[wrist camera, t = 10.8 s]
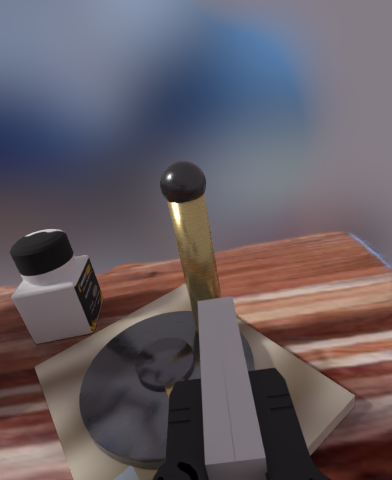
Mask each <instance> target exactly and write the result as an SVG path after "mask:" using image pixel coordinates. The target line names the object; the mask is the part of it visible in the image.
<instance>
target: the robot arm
mask: <svg viewBox="0 0 392 480" xmlns="http://www.w3.org/2000/svg"><path fill="white" fill-rule="evenodd" d="M198 321H199V343H200V365H201V378H200V379H192V380H185V381H177V382H175V384H174V387H173V389H172V391H171V393H170V395H169V413H168V428H167V445H166V462H165V463H164V464H163V465H161V466H160V467H159V469H158V470H157V472H156V474H155V475H154V477H153V480H331V479H329V478H328V477H326V476H325V475H324V474H323V473H322V472H321V471H320V470H319V469H318V468H317V467H316V465H315V464H314V463H313V461H312V459H311V456H310V454H309V451H308V448H307V445H306V442H305V439H304V436H303V433H302V430H301V427H300V423H299V420H298V417H297V414H296V411H295V409H294V405H293V402H292V399H291V396H290V393H289V390H288V387H287V384H286V381H285V379H284V377H283V376H282V375H281V374H280V373H279V372H278V370H277V369H276V368H268V369H260V370H253V371H248V370H247V365H246V360H245V356H244V351H243V346H242V341H241V336H240V331H239V327H238V322H237V317H236V312H235V307H234V303H233V298H232V296H230V297H223V298H217V299H210V300H203V301H198Z"/></svg>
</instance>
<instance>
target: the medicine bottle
mask: <svg viewBox="0 0 392 480" xmlns="http://www.w3.org/2000/svg"><path fill="white" fill-rule="evenodd" d="M10 254H11V256H12V258H13V260H14V262H15V264H16V266H17V268H18V270H19V272H20V274H21V277H22V278H23V281H22V283H21V284H20V285H19V287H18V288H17V290H16V291H15V292H14V294H13V295H12V300H13V302H14V304H15V306H16V308H17V310H18V311H19V313H20V315H21V317H22V319H23V321H24V323H25V325H26V327H27V329H28V331H29V333H30V335H31V337H32V339H33V340H34V342H35V343H36V344H41V343H46V342H51V341H56V340H61V339H66V338H71V337H76V336H81V335H86V334H91V333H93V332H94V330H95V327H96V323H97V320H98V316H99V313H100V310H101V306H102V303H103V295H102V292H101V290H100V287H99V284H98V281H97V279H96V276H95V273H94V270H93V268H92V265H91V262H90V259H89V257H88V256H87V255H84V256H79V257H75V256H74V253H73V250H72V248H71V245H70V243H69V240H68V238H67V235H66V233H65V232H63V231H62V230H57V229H46V230H41V231H37V232H34V233H31V234H29V235H27V236H25V237H23V238H22V239H20V240H19V241H17V242H16V243H15V244H14V245H13V246H12V248H11V250H10Z"/></svg>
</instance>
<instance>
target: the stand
mask: <svg viewBox="0 0 392 480" xmlns="http://www.w3.org/2000/svg"><path fill="white" fill-rule="evenodd" d="M175 311H192V309H191V305H190V300H189V296H188V291H187V287H186V284H183V285H182V286H180V287H178V288H176V289H174V290H173V291H171V292H169V293H167V294H165V295H164V296H162V297H160V298H158V299H156V300H154V301H153V302H151V303H149V304H147V305H145V306H144V307H142V308H140V309H138V310H136V311H135V312H133V313H131V314H129V315H127V316H125V317H124V318H122V319H120V320H118V321H116V322H115V323H113V324H111V325H109V326H107V327H106V328H104V329H102V330H100V331H98V332H96V333H95V334H93V335H91V336H89V337H87V338H86V339H84V340H82V341H80V342H78V343H77V344H75V345H73V346H71V347H69V348H67V349H66V350H64V351H62V352H60V353H58V354H57V355H55V356H53V357H51V358H49V359H48V360H46V361H44V362H42V363H40V364H38V365H37V366H35V370H36V373H37V376H38V379H39V382H40V385H41V388H42V390H43V393H44V396H45V399H46V402H47V405H48V408H49V410H50V413H51V416H52V419H53V422H54V425H55V428H56V431H57V433H58V436H59V439H60V442H61V445H62V448H63V451H64V453H65V456H66V459H67V462H68V465H69V468H70V471H71V473H72V476H73V479H74V480H153V477H154V475H155V474H156V472H157V470H158V469H159V468H140V467H133V466H132V465H131V466H129V465H126V464H123V463H120V462H118V461H116V460H114V459H112V458H110V457H109V456H108V455H106V454H105V453H104V452H102V451H101V450H100V449H99V448H98V446H97V445H96V444H95V443H94V441H93V440H92V438H91V436H90V435H89V433H88V431H87V429H86V427H85V425H84V422H83V420H82V417H81V413H80V407H79V395H80V389H81V385H82V381H83V378H84V376H85V374H86V371H87V369H88V367H89V366H90V364H91V362H92V361H93V359H94V358H95V357H96V355H97V354H98V353H99V351H100V350H101V349H102V348H103V347H104V346H105V345H106V344H107V343H108V342H109V341H110V340H112V339H113V338H114V337H115V336H116V335H118V334H119V333H120V332H122V331H124V330H125V329H127V328H128V327H130V326H132V325H134V324H136V323H137V322H140V321H142V320H144V319H147V318H150V317H152V316H156V315H159V314H163V313H168V312H175ZM237 322H238V327H239V331H240V332H241V333H242V334H243V335H244V337H245V338H246V340H247V341H248V343H249V345H250V348H251V351H252V354H253V359H254V367H255V370H260V369H268V368H276V369H277V370H278V372H279V373H280V374H281V375H282V376H283V377H284V379H285V381H286V384H287V387H288V390H289V393H290V396H291V399H292V402H293V405H294V409H295V411H296V414H297V417H298V420H299V423H300V427H301V430H302V433H303V436H304V439H305V442H306V445H307V448H308V451H309V454H310V456H311V454H312V453H313V452H314V451H315V450H316V449H317V448H318V447H319V446H320V444H321V443H322V442H323V441H324V440H325V439H326V438H327V437H328V435H329V434H330V433H331V432H332V431H333V430H334V429H335V428H336V427H337V425H338V424H339V423H340V422H341V421H342V420H343V419H344V418H345V417H346V415H347V414H348V413H349V412H350V411H351V410H352V409H353V408H354V406H355V395H353V394H352V393H350V392H349V391H347V390H346V389H344V388H343V387H341V386H340V385H338V384H337V383H335V382H333V381H332V380H330V379H329V378H327V377H326V376H324V375H323V374H321V373H320V372H318V371H317V370H315V369H314V368H312V367H311V366H309V365H308V364H306V363H305V362H303V361H302V360H300V359H299V358H297V357H295V356H294V355H292V354H291V353H289V352H288V351H286V350H285V349H283V348H282V347H280V346H279V345H277V344H276V343H274V342H273V341H271V340H270V339H268V338H267V337H265V336H264V335H262V334H261V333H259V332H258V331H256V330H254V329H253V328H251V327H250V326H248V325H247V324H245V323H244V322H242V321H241V320H239V319H238V318H237Z"/></svg>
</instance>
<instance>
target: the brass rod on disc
mask: <svg viewBox="0 0 392 480" xmlns="http://www.w3.org/2000/svg"><path fill="white" fill-rule="evenodd" d="M160 187H161V191H162V194H163V196H164V197H165V199H166V200H167V202H168V206H169V211H170V215H171V219H172V224H173V229H174V233H175V238H176V242H177V247H178V251H179V255H180V260H181V264H182V269H183V273H184V278H185V282H186V287H187V291H188V296H189V300H190V305H191V309H192V311H175V312H168V313H163V314H159V315H156V316H152V317H150V318H147V319H144V320H142V321H140V322H137V323H136V324H134V325H132V326H130V327H128V328H127V329H125V330H124V331H122V332H120V333H119V334H118V335H116V336H115V337H114V338H113V339H112V340H110V341H109V342H108V343H107V344H106V345H105V346H104V347H103V348H102V349H101V350H100V351H99V353H98V354H97V355H96V357H95V358H94V359H93V361H92V362H91V364H90V366H89V367H88V369H87V371H86V374H85V376H84V378H83V381H82V385H81V389H80V395H79V407H80V413H81V417H82V420H83V422H84V425H85V427H86V429H87V431H88V433H89V435H90V436H91V438H92V440H93V441H94V443H95V444H96V445H97V446H98V448H99V449H100V450H101V451H102V452H104V453H105V454H106V455H108V456H109V457H110V458H112V459H114V460H116V461H118V462H120V463H123V464H126V465H129V466H131V465H132V466H133V467H140V468H159V467H160V466H161V465H163V464H164V463H165V462H166V445H167V428H168V413H169V395H170V393H171V391H172V389H173V387H174V384H175V382H177V381H185V380H192V379H200V378H201V365H200V343H199V321H198V301H203V300H210V299H217V298H222V297H221V291H220V285H219V279H218V273H217V267H216V261H215V255H214V249H213V243H212V237H211V232H210V226H209V220H208V214H207V208H206V202H205V196H204V192H205V189H206V179H205V176H204V173H203V172H202V170H201V169H200V168H199V167H198V166H197V165H196V164H194V163H192V162H189V161H177V162H174V163H172V164H170V165H169V166H168V167H167V168H166V169H165V170H164V172H163V174H162V176H161V180H160ZM240 336H241V341H242V346H243V351H244V356H245V360H246V365H247V370H248V371H253V370H255V367H254V359H253V354H252V351H251V348H250V345H249V343H248V341H247V340H246V338H245V337H244V335H243V334H242V333H241V332H240Z"/></svg>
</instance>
